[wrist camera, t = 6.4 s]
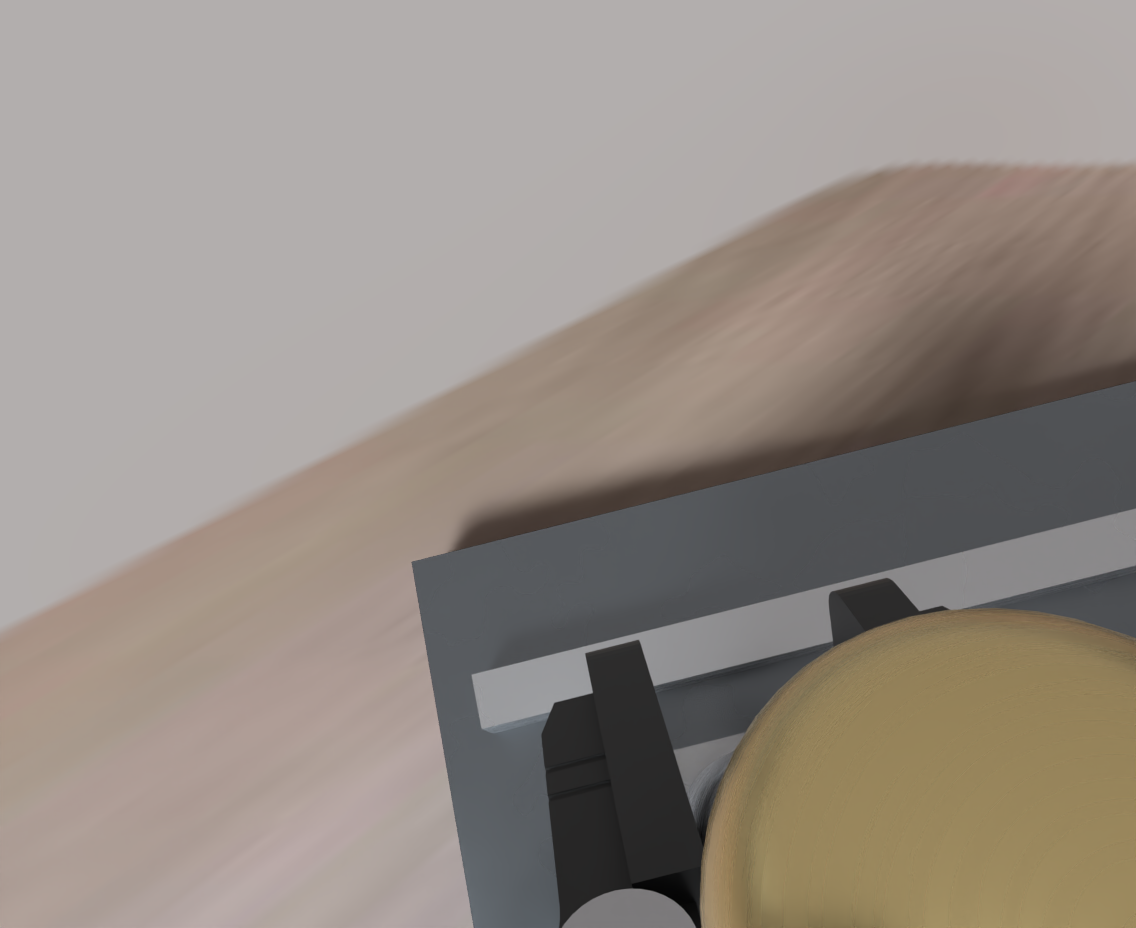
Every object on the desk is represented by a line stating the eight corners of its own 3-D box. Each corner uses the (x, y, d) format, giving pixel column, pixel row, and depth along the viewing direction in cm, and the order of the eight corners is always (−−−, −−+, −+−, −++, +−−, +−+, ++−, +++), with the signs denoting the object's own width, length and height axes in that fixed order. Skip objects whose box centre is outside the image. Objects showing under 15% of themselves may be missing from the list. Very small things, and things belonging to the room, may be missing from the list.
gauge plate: (557, 1279, 15) (535, 1395, 12) (433, 583, 20) (396, 546, 17) (1751, 978, 16) (2013, 1022, 13) (1349, 354, 20) (1469, 279, 17)
